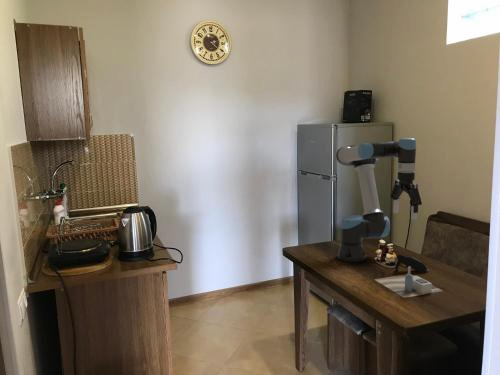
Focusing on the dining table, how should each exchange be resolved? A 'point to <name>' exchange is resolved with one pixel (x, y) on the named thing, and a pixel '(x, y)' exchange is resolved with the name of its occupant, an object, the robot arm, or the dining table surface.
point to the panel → (401, 286)
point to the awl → (408, 282)
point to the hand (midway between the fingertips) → (404, 216)
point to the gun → (410, 263)
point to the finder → (421, 285)
